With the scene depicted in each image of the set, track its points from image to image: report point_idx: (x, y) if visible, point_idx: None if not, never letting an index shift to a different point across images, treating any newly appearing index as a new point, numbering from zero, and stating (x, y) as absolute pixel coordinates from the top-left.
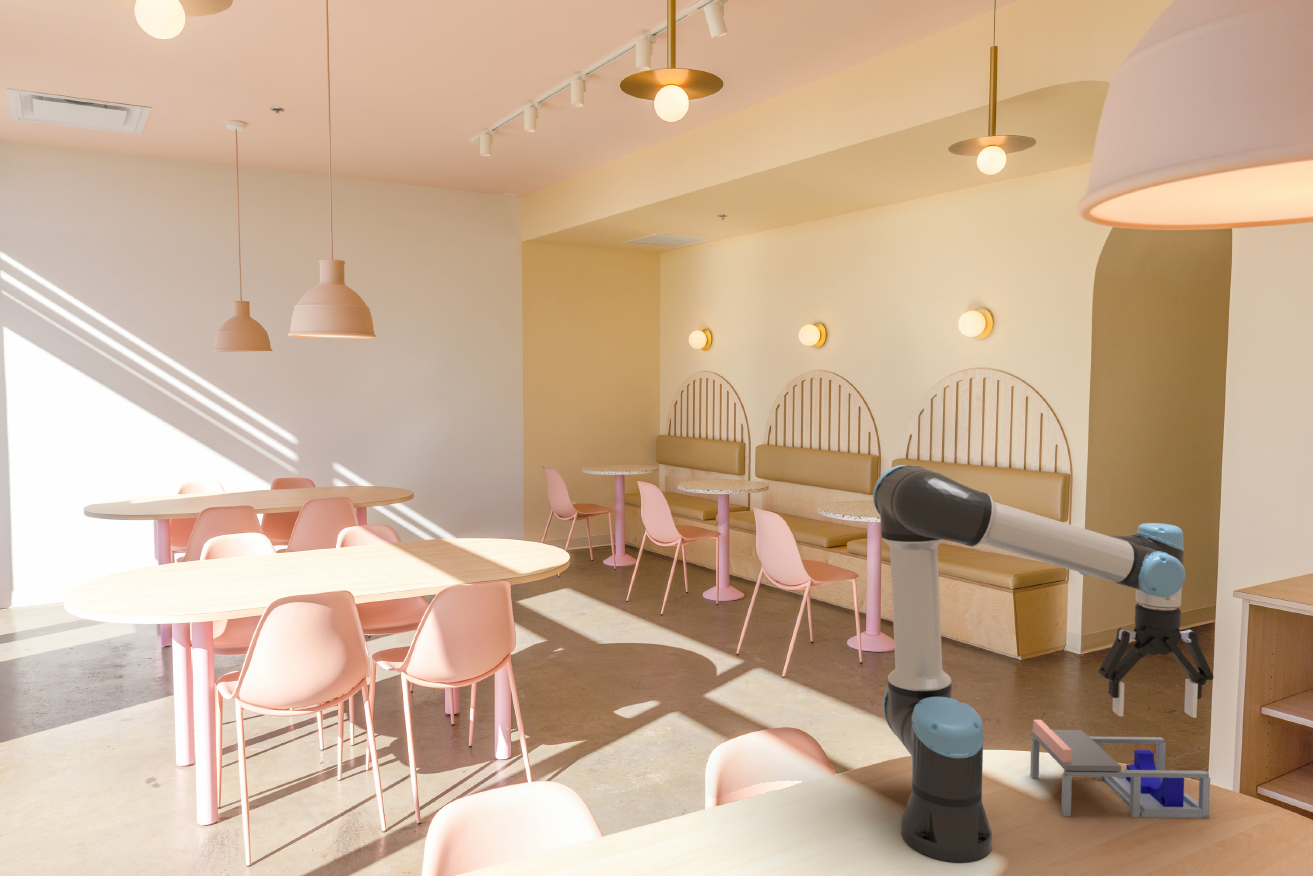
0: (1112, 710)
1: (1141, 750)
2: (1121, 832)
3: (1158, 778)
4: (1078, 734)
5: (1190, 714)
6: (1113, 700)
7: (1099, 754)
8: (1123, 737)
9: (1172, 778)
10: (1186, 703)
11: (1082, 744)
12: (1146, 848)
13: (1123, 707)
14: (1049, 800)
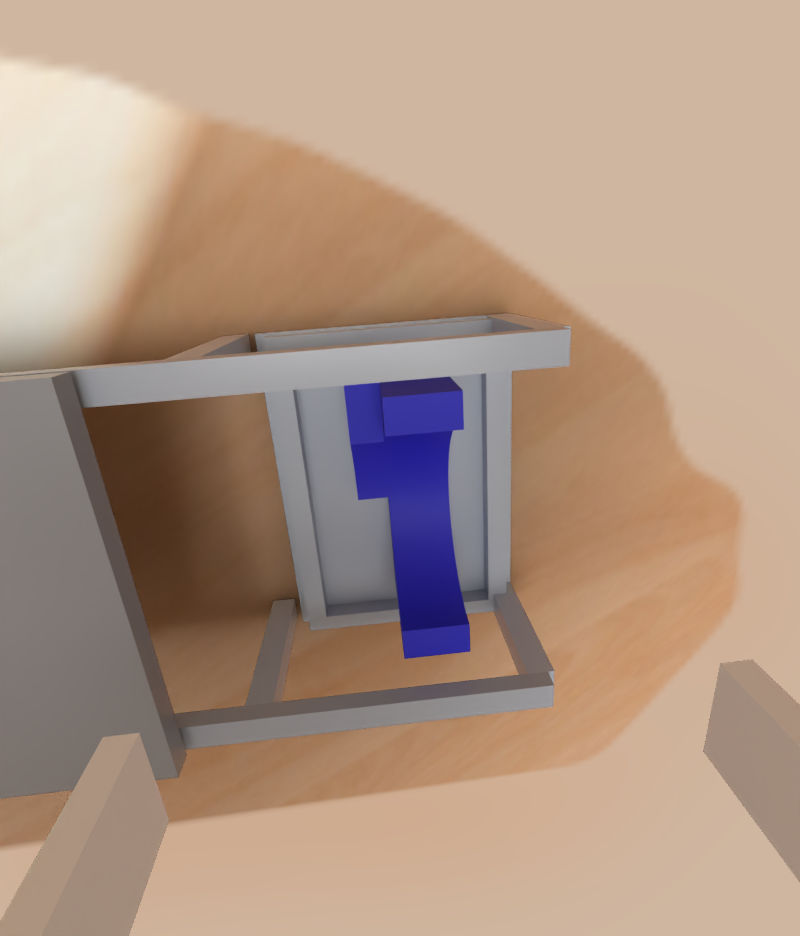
0: (100, 742)
1: (417, 398)
2: (214, 697)
3: (444, 454)
4: (20, 453)
5: (715, 744)
6: (47, 857)
7: (102, 690)
8: (338, 359)
9: (423, 655)
10: (783, 756)
11: (27, 593)
12: (257, 755)
13: (136, 909)
14: None
